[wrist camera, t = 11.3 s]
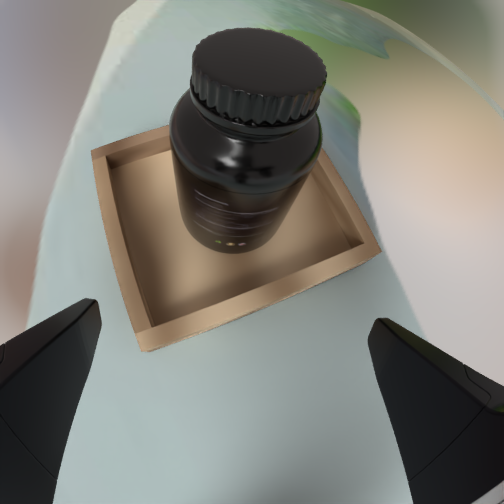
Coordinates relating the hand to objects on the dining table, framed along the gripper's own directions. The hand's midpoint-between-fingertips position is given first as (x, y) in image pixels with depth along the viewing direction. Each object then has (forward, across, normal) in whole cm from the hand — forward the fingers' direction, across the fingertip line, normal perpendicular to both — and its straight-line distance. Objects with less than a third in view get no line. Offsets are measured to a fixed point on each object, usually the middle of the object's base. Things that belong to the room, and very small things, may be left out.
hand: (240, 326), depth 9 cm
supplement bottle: (+12, 0, 0) cm, 12 cm away
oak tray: (+13, 0, 0) cm, 13 cm away
